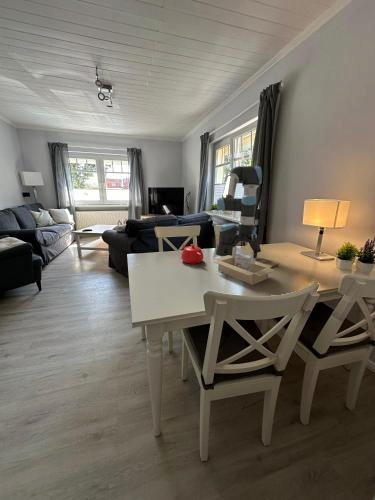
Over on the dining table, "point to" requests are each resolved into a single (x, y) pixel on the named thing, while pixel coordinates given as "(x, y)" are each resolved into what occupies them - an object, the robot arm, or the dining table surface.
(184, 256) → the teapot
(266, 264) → the board
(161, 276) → the dining table surface
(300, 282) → the dining table surface
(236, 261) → the ink box
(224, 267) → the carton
